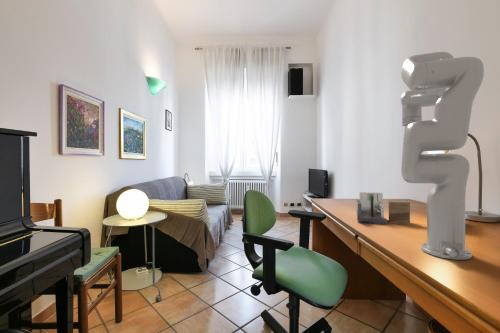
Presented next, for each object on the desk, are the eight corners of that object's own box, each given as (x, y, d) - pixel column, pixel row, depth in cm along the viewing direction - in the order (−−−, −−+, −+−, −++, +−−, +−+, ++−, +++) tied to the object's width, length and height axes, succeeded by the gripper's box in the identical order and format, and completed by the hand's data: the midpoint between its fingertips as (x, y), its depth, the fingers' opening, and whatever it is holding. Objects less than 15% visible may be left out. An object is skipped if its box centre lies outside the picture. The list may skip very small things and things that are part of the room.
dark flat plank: (373, 216, 122) (373, 196, 122) (371, 216, 122) (371, 196, 122) (373, 215, 124) (372, 196, 123) (371, 215, 124) (371, 195, 124)
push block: (410, 224, 113) (409, 202, 112) (390, 222, 115) (390, 201, 115) (407, 221, 116) (407, 200, 116) (388, 220, 119) (388, 200, 119)
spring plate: (383, 219, 114) (383, 206, 114) (377, 218, 115) (377, 206, 115) (381, 215, 122) (381, 203, 122) (375, 214, 123) (375, 203, 123)
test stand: (386, 224, 113) (386, 196, 112) (358, 222, 117) (357, 195, 116) (382, 218, 124) (382, 192, 123) (356, 217, 128) (356, 192, 128)
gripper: (427, 117, 104) (428, 157, 105) (415, 124, 121) (416, 158, 121) (407, 119, 107) (407, 158, 107) (398, 125, 123) (398, 159, 123)
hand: (412, 158), depth 114 cm, fingers open, 9 cm apart
